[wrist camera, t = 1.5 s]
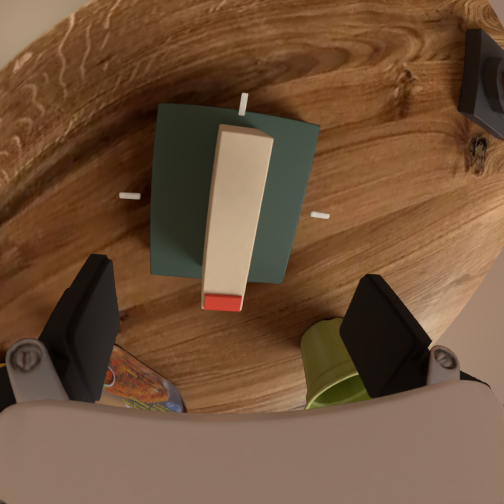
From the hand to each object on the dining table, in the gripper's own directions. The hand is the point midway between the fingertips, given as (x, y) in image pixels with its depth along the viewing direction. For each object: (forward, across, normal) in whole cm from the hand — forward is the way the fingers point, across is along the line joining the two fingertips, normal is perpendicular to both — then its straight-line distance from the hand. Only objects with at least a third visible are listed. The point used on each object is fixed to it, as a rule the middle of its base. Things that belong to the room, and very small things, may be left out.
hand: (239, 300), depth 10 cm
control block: (+12, -24, -17) cm, 32 cm away
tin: (+13, +8, +22) cm, 26 cm away
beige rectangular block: (+9, 0, 0) cm, 9 cm away
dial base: (+12, 0, 0) cm, 12 cm away
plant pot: (+13, -13, +15) cm, 23 cm away
